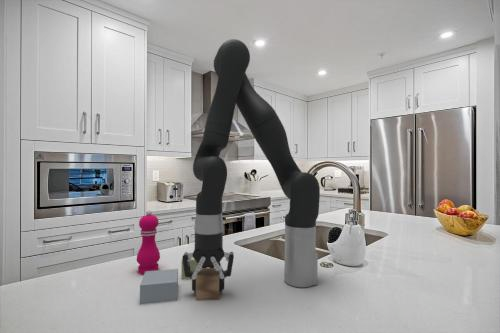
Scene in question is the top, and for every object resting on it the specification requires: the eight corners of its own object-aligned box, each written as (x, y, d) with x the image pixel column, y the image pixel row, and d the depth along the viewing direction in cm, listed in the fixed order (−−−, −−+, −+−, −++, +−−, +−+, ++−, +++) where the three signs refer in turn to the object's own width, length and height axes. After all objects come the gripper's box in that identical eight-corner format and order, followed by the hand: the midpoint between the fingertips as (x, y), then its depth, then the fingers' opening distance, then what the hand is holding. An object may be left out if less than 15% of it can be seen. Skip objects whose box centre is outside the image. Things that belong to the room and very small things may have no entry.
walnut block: (219, 289, 76) (220, 268, 75) (218, 299, 70) (219, 276, 70) (198, 289, 75) (198, 268, 75) (195, 300, 69) (195, 277, 69)
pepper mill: (134, 276, 83) (135, 212, 83) (138, 267, 90) (138, 208, 90) (159, 274, 85) (159, 211, 85) (160, 265, 92) (161, 208, 92)
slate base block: (177, 285, 78) (178, 268, 78) (177, 301, 69) (177, 282, 69) (145, 288, 76) (145, 271, 76) (139, 305, 67) (140, 285, 67)
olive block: (203, 271, 88) (203, 253, 88) (201, 279, 82) (201, 259, 82) (184, 271, 88) (185, 253, 88) (181, 279, 82) (181, 260, 82)
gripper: (235, 226, 76) (234, 284, 77) (184, 226, 75) (183, 285, 76) (235, 233, 69) (234, 297, 69) (179, 233, 68) (178, 299, 68)
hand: (208, 291), depth 72 cm, fingers closed on walnut block, 6 cm apart
